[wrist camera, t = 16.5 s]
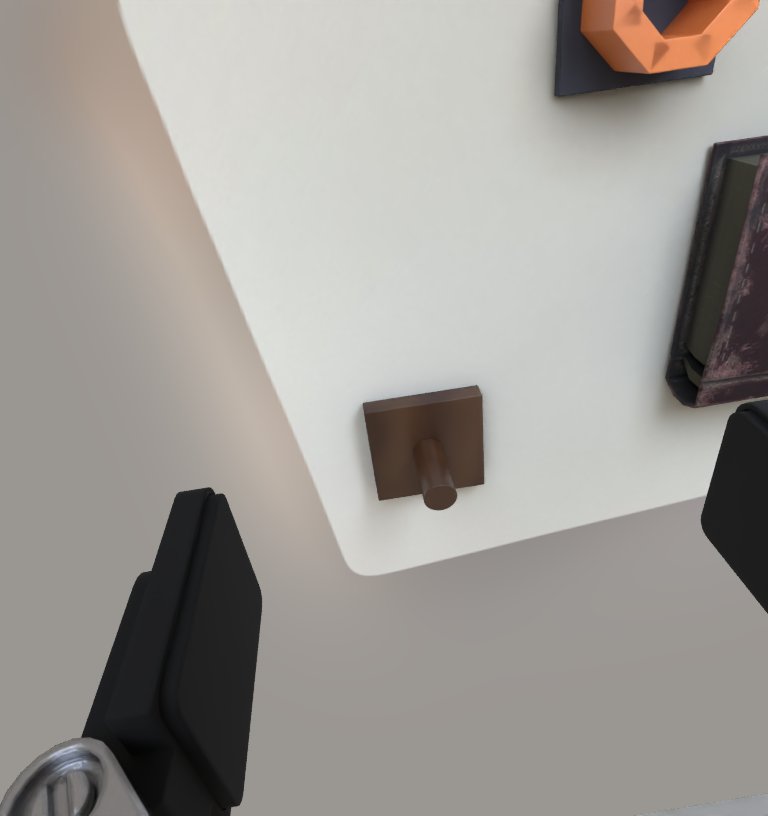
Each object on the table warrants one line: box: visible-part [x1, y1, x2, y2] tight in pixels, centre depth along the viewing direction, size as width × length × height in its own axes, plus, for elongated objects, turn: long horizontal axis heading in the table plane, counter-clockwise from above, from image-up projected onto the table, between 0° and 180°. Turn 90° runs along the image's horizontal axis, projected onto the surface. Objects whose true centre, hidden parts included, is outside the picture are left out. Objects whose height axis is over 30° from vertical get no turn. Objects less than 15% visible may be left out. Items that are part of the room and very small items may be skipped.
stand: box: [363, 385, 484, 510], centre depth 42 cm, size 9×9×7 cm
